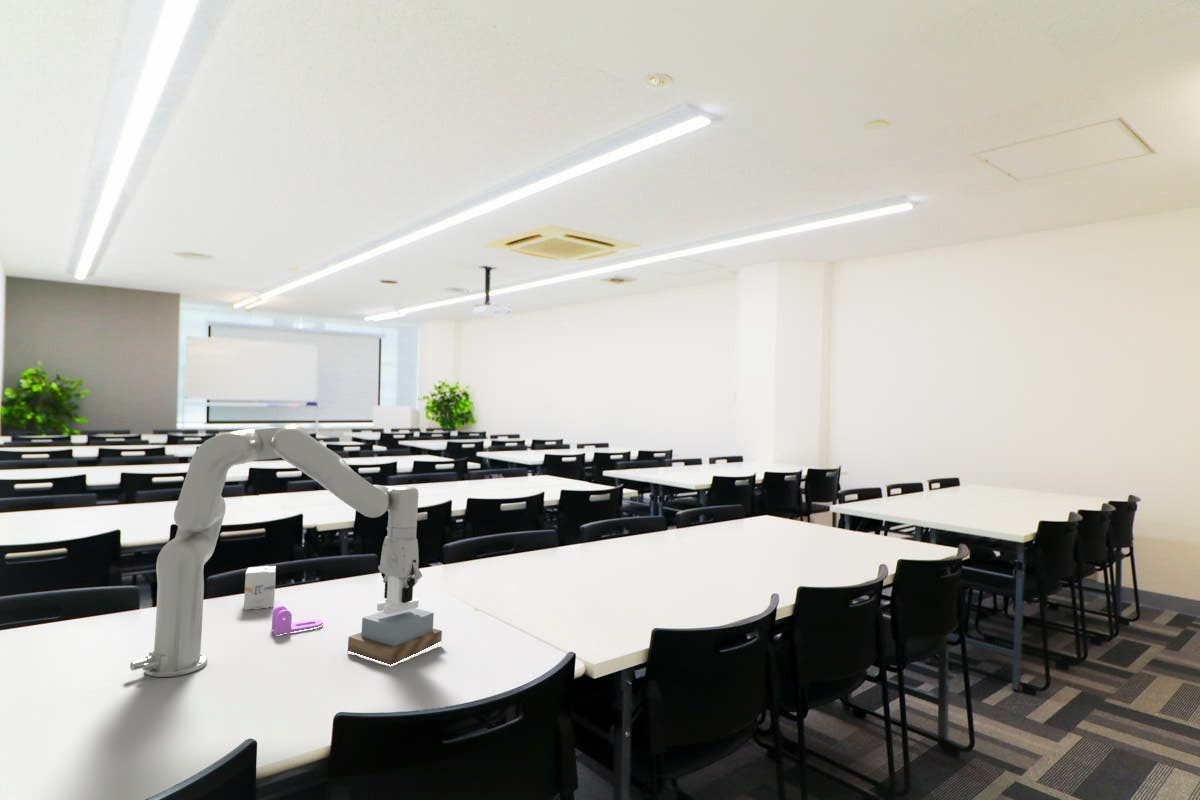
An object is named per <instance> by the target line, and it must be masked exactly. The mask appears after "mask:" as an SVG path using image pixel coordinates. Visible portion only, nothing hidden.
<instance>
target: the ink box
mask: <svg viewBox="0 0 1200 800" xmlns="http://www.w3.org/2000/svg"><path fill="white" fill-rule="evenodd" d="M276 571H277V566H276V565H271V566H270V565H264V566H262V565H261V566H250V567H247V569H246V571H245V575H244V576H245V578H244V580H245V581H244V582H245V583H244V598H243V600H244V601H243V602H244V603H243V611H248V610H249V609H254V610H262V609H261V608H266V609H269V608H268V607H273V608H274V605H275V593H276V573H277V572H276ZM249 611H250V610H249Z"/></svg>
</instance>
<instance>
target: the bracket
mask: <svg viewBox="0 0 1200 800" xmlns="http://www.w3.org/2000/svg"><path fill="white" fill-rule="evenodd" d="M292 616H293V615H292V612H290V610H288V608H287V607H286V606H284V605H278V606H276V607H275V608H274V609H273V611H272V616H271V617H272V619H271V631H272V630H273V632H274V633H275V634H276V635H280V634H284V633H290V632H294V631H299V630H304V629H310V628H314V627H318V626H321V625H322V624H323V623H324V621H322V620H320V619H307V620H304V621H303V620H302V621H297V622H292V621H293V620H292V619H293V617H292ZM323 625H324V624H323ZM323 625H322V626H323ZM273 632H272V633H273ZM274 633H273V634H274ZM275 634H274V635H275ZM276 635H275V636H276Z"/></svg>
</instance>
